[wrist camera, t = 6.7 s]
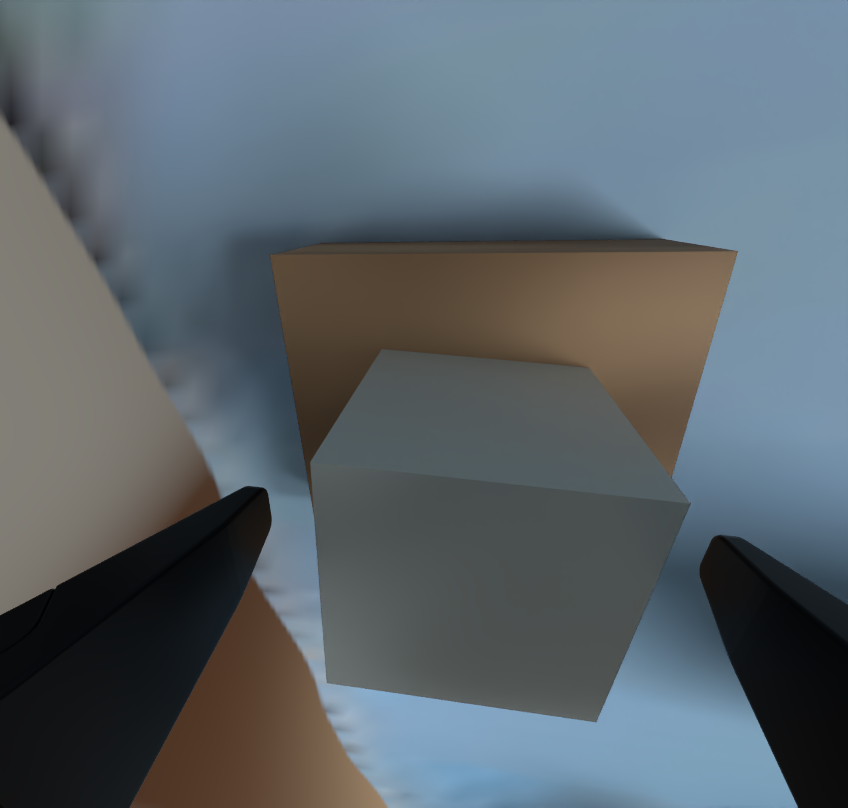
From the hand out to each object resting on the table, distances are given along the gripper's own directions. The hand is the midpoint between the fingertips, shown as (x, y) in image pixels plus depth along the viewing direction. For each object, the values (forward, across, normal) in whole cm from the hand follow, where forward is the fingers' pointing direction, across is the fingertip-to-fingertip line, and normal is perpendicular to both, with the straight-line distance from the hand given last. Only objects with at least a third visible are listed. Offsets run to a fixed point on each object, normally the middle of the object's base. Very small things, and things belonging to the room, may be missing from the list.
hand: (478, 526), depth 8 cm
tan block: (+7, 0, 0) cm, 7 cm away
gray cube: (+3, 0, 0) cm, 3 cm away
